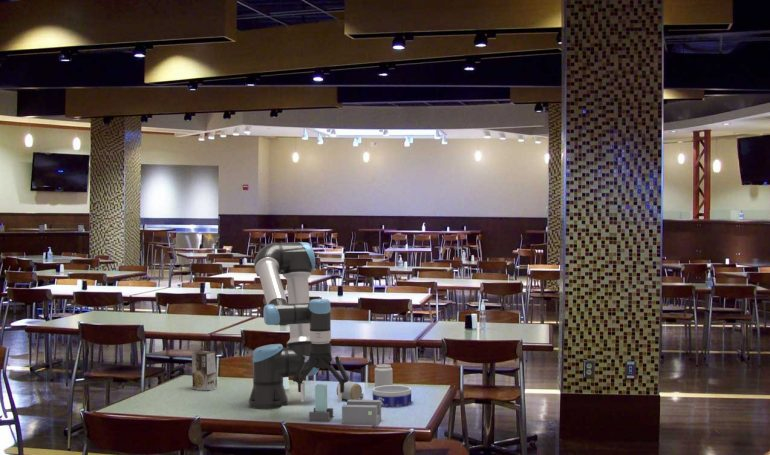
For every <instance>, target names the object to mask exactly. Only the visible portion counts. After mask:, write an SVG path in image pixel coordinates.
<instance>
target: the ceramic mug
mask: <svg viewBox="0 0 770 455" xmlns="http://www.w3.org/2000/svg"><path fill="white" fill-rule="evenodd" d="M339 383H340V382H339V381H338V384H339ZM362 389H363V388H362V386H361V385H360V384H359V383H357V382H354V381H350V380H349V381H348V382H346V383H344V392H343V393H342V400H345V401H348V400H360V399H363V398H364V393H363V390H362ZM336 395H337V397H338V385H337V387H336Z"/></svg>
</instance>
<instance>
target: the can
mask: <svg viewBox="0 0 770 455" xmlns="http://www.w3.org/2000/svg"><path fill="white" fill-rule="evenodd" d="M393 370H394V369H393V368H392V366H391V364H387V363H383V364H381V363H380V364H376V365H375V368H374V388H375V387H378V386H384V385H394V383H393V382H394V380H393V379H394V378H393V377H394V376H393V374H394V373H393Z"/></svg>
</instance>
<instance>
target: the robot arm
mask: <svg viewBox="0 0 770 455" xmlns="http://www.w3.org/2000/svg"><path fill="white" fill-rule="evenodd" d="M253 267H254V272H255V273H256V275H257V276H259V280H260V283H261V287H262V291H263V295H264V298H265V303H266V305H264V307H263V322H264V324H265V325H268V326H280V325H283V326H284V325H289V340H288V341H287V342H286V347H284V346H283V344H281V343H275V344H274V343H273V344H272V343H271V344H266V345H262V346H258V347H256V348H255V349H254V350H253V352H252V371H253V372H252V374H253V375H252V376H253V378H252V383H253V385H252V389H251V393H250V396H249V400H248V407H250V408H253V409H259V410H264V409H265V410H267V409H271V410H272V409H279V408H281V407H286V406H288V404H289V400H288V395H287V393H286V389H285V387H284V378H293V379H292V381H293V382H294V383H295V382H296V383H297V392H298V393H300V402H301V403H304V402H305V401H306V400H305V398H306V395H305V393H306V388H305V383H306V382H304V380H305V379H306V377H308V376H315V375H317V374H318V372H319V370H320V369H323V370H325V369H327V370H328V371H329V372H330V373H331V374H332V376H334V378H335V379H336V380H337V381H338V384H337V386H338V396H337V403H341V402H342V401H343V399H342V393H343V392H344V383H346V382H348V381H350V377H349V375H348V374H347V372H346V370H345V367H344V366H343V364H342V362H341V356H340V355H337V356H334V355H332V343H331V341H332V335H331V334H332V330H331V329H332V328H331V326H332V325H331V323H332V322H331V319H332V318H331V310H332V308H331V301H330V300H329V299H328V298H326V299H325V298H314V299H310V290H309V289H310V288H309V278H310V277H311V275H312V271H314V270H315V269H316V257H315V251H314V248H313V247H312V245H311V243H309V242H300V241H295V242H291V241H290V242H271V243H268V244H266V245H264V246H263V247H262V248H261V249H260V250H259V251H258V252H257V254H256V256H255V257H254V262H253ZM279 272H282V277H283V278H284V279H286V286H287V296H286V294H285V290H284V287H283V283H282V280H281V276H280V274H279ZM332 361H333V363H335V365H336V366H337V368H338V370H339V372H338V371H337V370H336V369H335V367H334V366H333V364H332V363H331V362H332ZM340 374H341V375H340ZM339 382H340V383H339Z"/></svg>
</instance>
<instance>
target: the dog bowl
mask: <svg viewBox="0 0 770 455" xmlns="http://www.w3.org/2000/svg"><path fill="white" fill-rule="evenodd" d="M372 400H381V408H401V407H407V406H409V405H411V404H412V387H410V386H407V385H402V384H401V385H400V384H393V385H384V386H378V387H375V386H374V387H373V388H372Z"/></svg>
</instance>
